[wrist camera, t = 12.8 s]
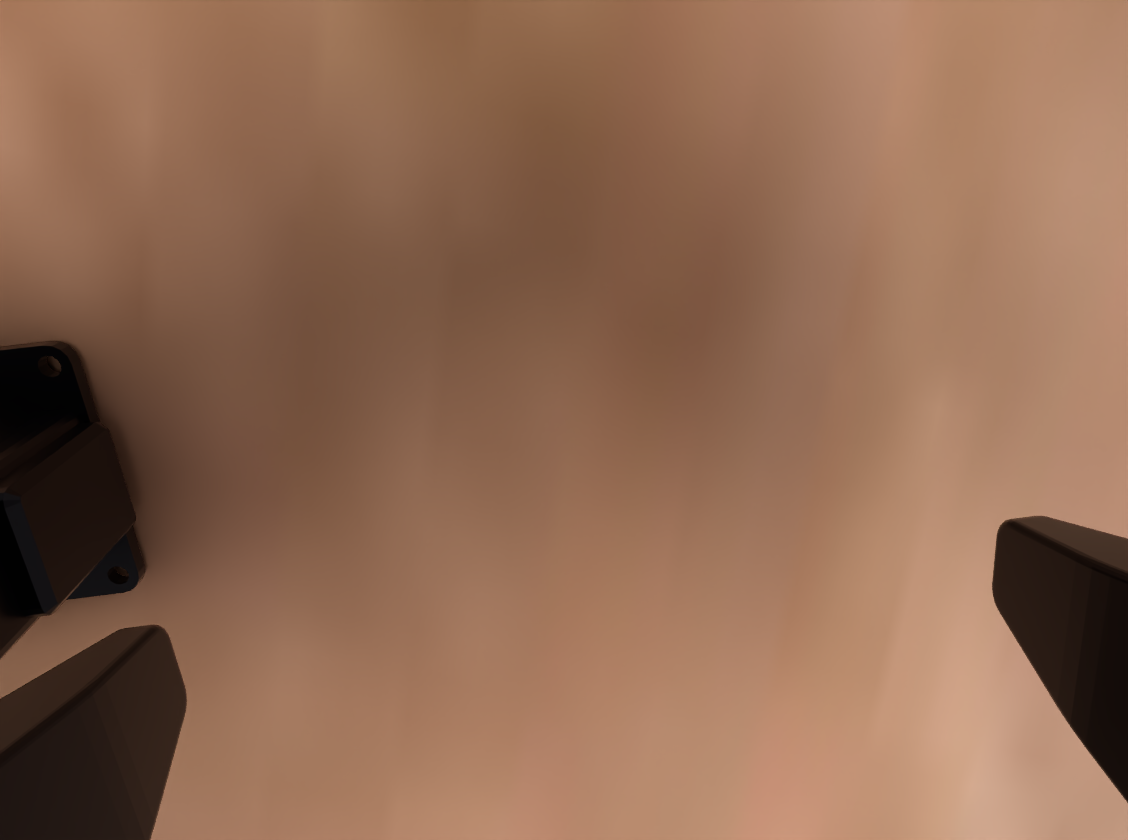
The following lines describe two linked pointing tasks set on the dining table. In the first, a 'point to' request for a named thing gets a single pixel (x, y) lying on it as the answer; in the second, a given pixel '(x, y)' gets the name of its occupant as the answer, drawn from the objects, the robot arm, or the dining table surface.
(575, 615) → the dining table surface
